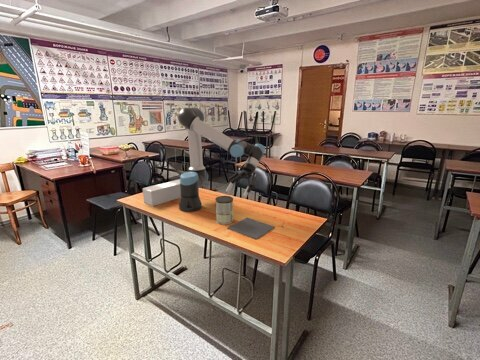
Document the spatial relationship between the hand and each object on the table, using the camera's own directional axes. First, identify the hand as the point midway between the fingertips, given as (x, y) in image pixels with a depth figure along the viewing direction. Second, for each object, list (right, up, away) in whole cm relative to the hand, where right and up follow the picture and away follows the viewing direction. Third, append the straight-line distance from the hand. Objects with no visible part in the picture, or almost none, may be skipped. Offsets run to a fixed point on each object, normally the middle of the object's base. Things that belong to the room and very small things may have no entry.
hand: (235, 194), depth 160 cm
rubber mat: (+9, -18, -12) cm, 23 cm away
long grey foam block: (-51, -5, +35) cm, 62 cm away
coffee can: (-6, -16, -2) cm, 17 cm away
